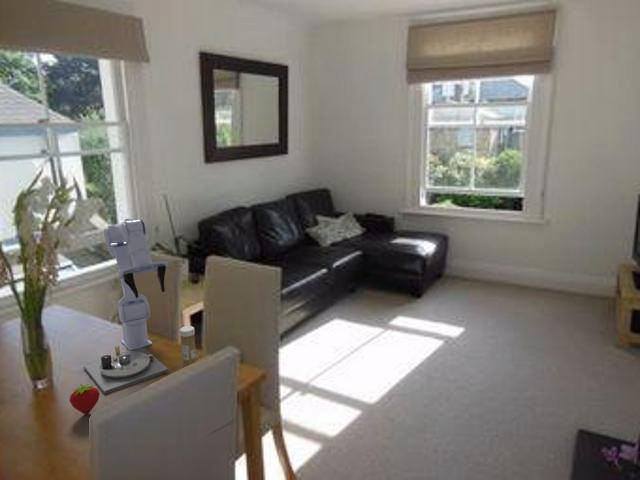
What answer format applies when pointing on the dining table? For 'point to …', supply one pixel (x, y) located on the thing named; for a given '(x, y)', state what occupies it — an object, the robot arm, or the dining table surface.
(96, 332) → the dining table surface
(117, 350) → the brass dowel
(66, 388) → the dining table surface
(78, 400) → the strawberry
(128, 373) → the flange plate
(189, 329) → the sprinkles bottle
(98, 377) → the charcoal board
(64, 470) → the dining table surface
